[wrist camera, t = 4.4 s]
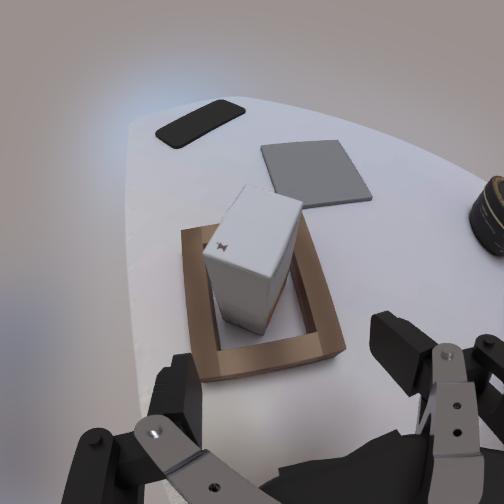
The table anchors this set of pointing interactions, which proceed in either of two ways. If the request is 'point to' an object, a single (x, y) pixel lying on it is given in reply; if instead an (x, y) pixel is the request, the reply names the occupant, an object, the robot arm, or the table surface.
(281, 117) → the table surface
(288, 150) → the rubber mat
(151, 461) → the robot arm
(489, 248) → the jar
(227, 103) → the phone
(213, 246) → the skincare box
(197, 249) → the brown wooden rectangular frame
